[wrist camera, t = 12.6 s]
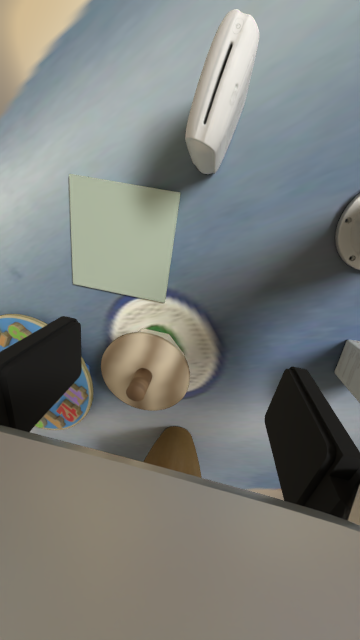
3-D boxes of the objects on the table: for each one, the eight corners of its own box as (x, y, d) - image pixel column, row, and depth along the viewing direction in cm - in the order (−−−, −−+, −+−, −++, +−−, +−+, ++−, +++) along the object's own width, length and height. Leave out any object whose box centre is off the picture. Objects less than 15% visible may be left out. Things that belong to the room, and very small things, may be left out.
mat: (180, 193, 34) (180, 192, 33) (165, 301, 41) (164, 302, 41) (71, 174, 35) (69, 173, 35) (74, 283, 43) (73, 283, 42)
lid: (197, 343, 38) (194, 363, 32) (181, 415, 45) (177, 441, 39) (104, 323, 39) (86, 338, 34) (102, 395, 46) (87, 418, 41)
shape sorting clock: (3, 282, 45) (-26, 290, 40) (123, 369, 49) (111, 386, 44) (-31, 371, 57) (-58, 386, 52) (67, 435, 61) (52, 455, 56)
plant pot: (198, 464, 57) (193, 545, 43) (144, 447, 58) (120, 521, 43) (216, 424, 51) (216, 503, 36) (154, 406, 52) (130, 476, 37)
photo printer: (220, 78, 28) (223, -21, 17) (250, 92, 28) (273, 3, 17) (189, 167, 33) (175, 135, 21) (215, 179, 33) (215, 154, 21)
